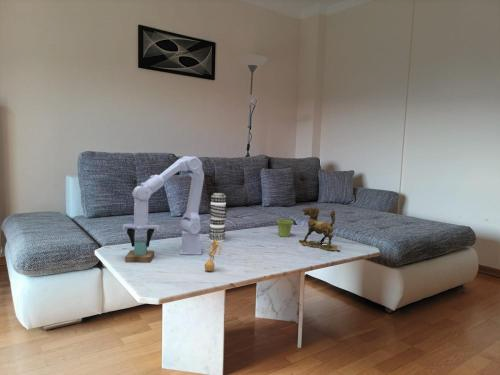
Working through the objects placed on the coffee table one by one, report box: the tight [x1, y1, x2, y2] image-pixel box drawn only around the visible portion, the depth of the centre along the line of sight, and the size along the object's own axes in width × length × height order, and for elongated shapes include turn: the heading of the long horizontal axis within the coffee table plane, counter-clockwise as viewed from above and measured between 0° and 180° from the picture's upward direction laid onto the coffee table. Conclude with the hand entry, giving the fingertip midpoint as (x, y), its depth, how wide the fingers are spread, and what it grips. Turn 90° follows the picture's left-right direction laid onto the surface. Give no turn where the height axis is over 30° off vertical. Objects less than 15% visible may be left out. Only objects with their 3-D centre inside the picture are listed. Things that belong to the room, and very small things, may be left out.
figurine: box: [298, 206, 341, 253], centre depth 188 cm, size 13×25×20 cm, turn 41°
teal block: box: [133, 240, 148, 255], centre depth 152 cm, size 4×4×5 cm
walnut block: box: [124, 249, 155, 264], centre depth 153 cm, size 10×10×3 cm
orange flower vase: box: [204, 241, 222, 272], centre depth 142 cm, size 8×6×12 cm
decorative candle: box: [208, 192, 227, 243], centre depth 190 cm, size 9×9×25 cm
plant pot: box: [276, 219, 294, 238], centre depth 208 cm, size 9×9×9 cm
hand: (140, 246), depth 152 cm, fingers open, 5 cm apart
